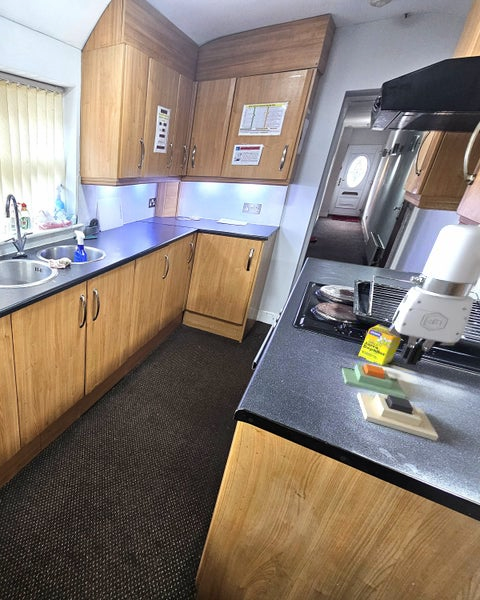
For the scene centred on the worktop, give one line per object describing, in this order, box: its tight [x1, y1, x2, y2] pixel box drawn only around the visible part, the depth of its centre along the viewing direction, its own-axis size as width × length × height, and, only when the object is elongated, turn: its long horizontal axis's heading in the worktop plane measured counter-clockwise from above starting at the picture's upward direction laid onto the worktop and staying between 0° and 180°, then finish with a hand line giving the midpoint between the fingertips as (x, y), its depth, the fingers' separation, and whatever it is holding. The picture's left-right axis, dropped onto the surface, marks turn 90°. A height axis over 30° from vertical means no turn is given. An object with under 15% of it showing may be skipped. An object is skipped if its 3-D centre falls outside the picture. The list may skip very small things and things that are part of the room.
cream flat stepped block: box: [357, 391, 439, 442], centre depth 76 cm, size 12×10×3 cm
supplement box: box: [357, 323, 402, 367], centre depth 95 cm, size 6×6×11 cm
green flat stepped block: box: [340, 363, 407, 399], centre depth 88 cm, size 12×10×3 cm
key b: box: [363, 363, 386, 379], centre depth 87 cm, size 4×4×2 cm
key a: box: [386, 395, 413, 414], centre depth 75 cm, size 4×4×2 cm
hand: (408, 361), depth 74 cm, fingers closed
